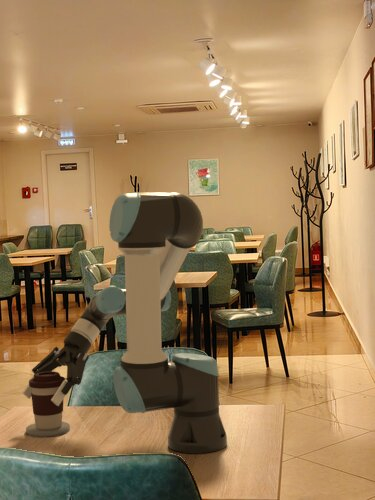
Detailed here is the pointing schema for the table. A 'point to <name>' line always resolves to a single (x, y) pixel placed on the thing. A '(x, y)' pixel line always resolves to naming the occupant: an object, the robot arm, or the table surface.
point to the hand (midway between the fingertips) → (39, 399)
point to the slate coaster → (47, 431)
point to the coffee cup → (46, 400)
